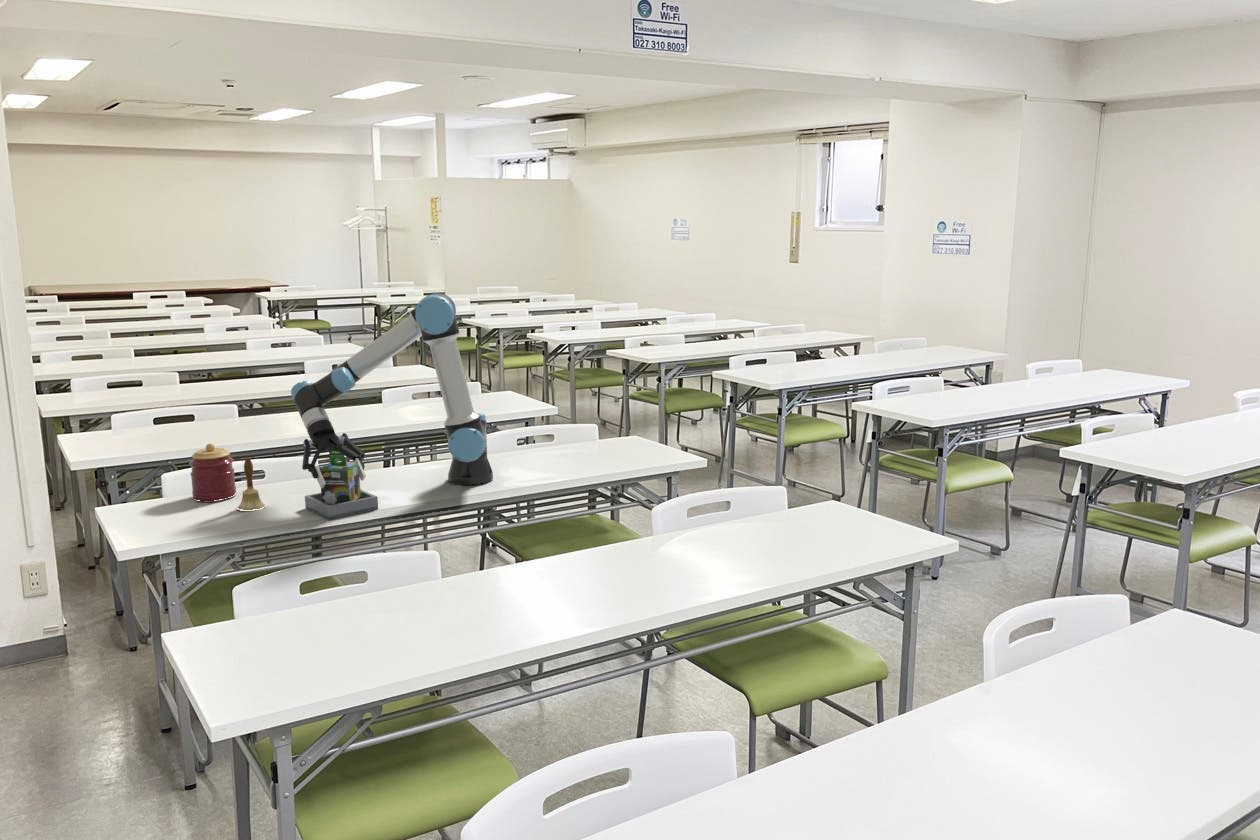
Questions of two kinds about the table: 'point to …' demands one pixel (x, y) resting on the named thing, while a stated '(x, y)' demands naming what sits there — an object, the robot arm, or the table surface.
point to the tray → (341, 506)
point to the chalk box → (340, 481)
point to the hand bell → (250, 490)
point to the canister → (212, 474)
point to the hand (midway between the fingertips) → (343, 482)
